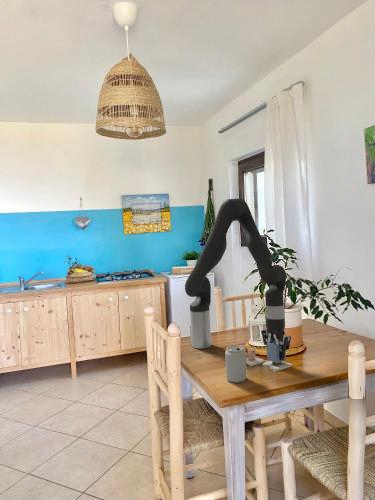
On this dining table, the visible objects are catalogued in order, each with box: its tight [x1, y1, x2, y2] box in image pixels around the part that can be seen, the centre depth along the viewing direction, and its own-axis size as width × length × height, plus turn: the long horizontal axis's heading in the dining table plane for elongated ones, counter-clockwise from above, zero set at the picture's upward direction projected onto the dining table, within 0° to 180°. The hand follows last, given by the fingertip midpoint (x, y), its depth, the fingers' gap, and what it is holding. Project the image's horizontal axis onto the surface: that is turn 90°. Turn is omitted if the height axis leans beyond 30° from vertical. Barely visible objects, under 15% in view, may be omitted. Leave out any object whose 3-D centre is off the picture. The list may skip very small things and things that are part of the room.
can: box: [224, 345, 248, 384], centre depth 144 cm, size 8×8×12 cm
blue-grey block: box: [266, 341, 287, 363], centre depth 156 cm, size 5×5×7 cm
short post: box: [246, 348, 265, 367], centre depth 162 cm, size 7×7×5 cm
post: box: [261, 360, 293, 372], centre depth 156 cm, size 8×8×7 cm
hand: (276, 358), depth 156 cm, fingers closed on blue-grey block, 5 cm apart
